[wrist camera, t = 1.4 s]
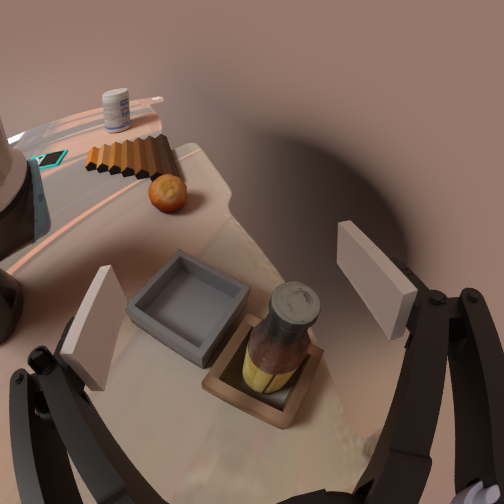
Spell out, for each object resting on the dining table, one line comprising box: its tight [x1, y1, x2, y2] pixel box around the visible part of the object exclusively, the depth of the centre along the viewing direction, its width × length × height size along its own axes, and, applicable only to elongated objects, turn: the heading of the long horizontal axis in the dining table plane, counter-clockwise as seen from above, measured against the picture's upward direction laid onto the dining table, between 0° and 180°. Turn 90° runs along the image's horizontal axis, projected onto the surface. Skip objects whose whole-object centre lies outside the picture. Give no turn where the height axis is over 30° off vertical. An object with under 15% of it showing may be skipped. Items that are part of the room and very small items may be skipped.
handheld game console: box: [31, 150, 68, 170], centre depth 65 cm, size 10×16×1 cm, turn 101°
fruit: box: [148, 174, 187, 213], centre depth 54 cm, size 8×8×8 cm
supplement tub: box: [103, 88, 130, 133], centre depth 77 cm, size 10×10×15 cm
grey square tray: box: [126, 249, 251, 369], centre depth 39 cm, size 13×13×4 cm
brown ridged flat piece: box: [85, 134, 180, 182], centre depth 65 cm, size 25×3×25 cm
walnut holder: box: [202, 313, 324, 430], centre depth 34 cm, size 12×12×4 cm
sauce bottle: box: [243, 282, 321, 394], centre depth 28 cm, size 7×6×20 cm
